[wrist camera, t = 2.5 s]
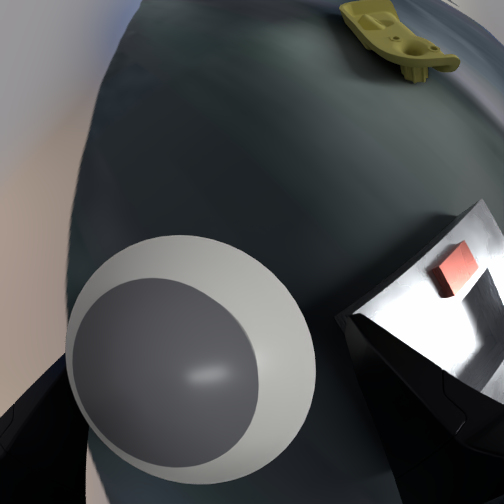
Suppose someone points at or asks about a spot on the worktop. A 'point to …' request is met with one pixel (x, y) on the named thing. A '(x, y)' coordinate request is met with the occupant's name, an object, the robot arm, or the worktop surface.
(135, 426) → the plug
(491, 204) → the worktop surface
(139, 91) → the worktop surface
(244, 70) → the worktop surface
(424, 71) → the plastic component
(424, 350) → the socket box
